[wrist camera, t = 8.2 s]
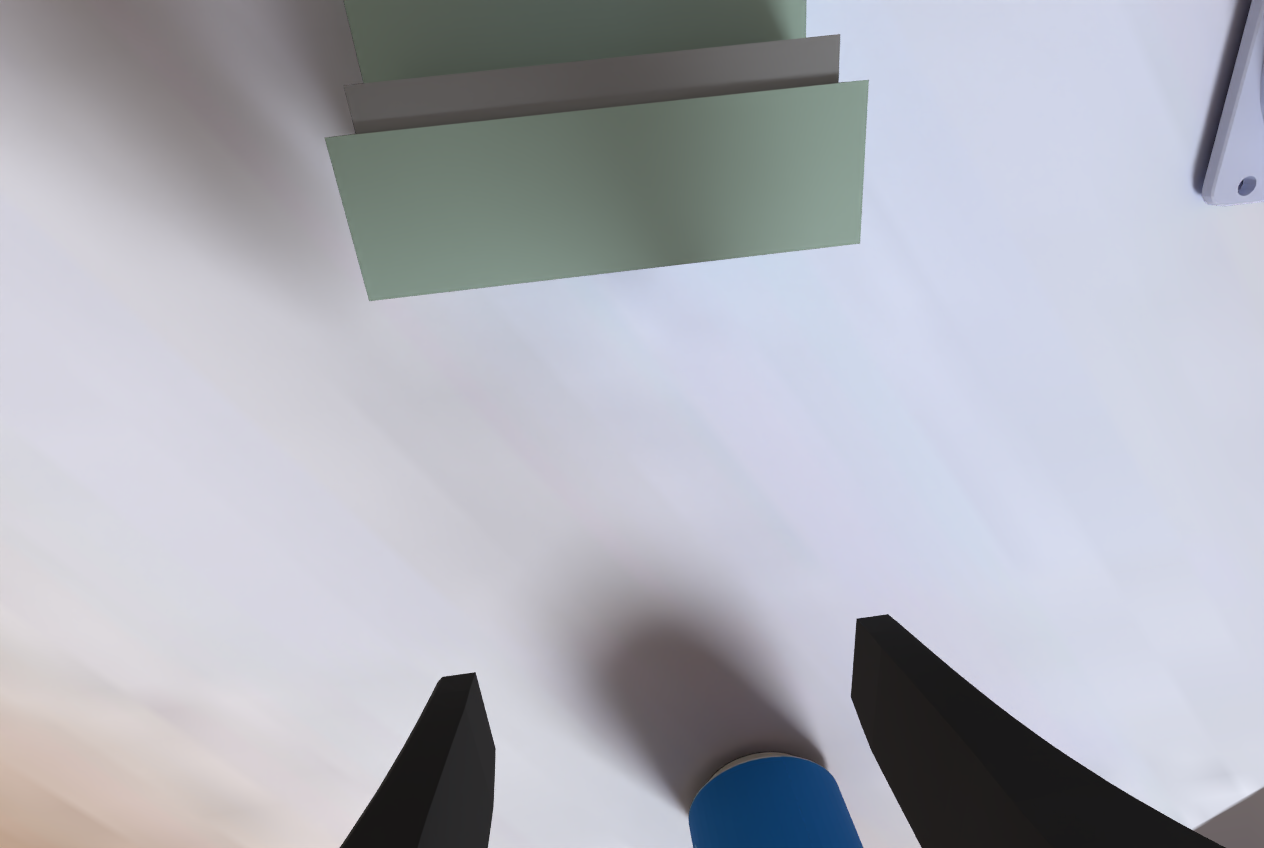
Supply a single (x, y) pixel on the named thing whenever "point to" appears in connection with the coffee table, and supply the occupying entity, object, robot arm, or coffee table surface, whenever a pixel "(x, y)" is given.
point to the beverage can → (771, 806)
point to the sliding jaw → (601, 166)
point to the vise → (550, 31)
